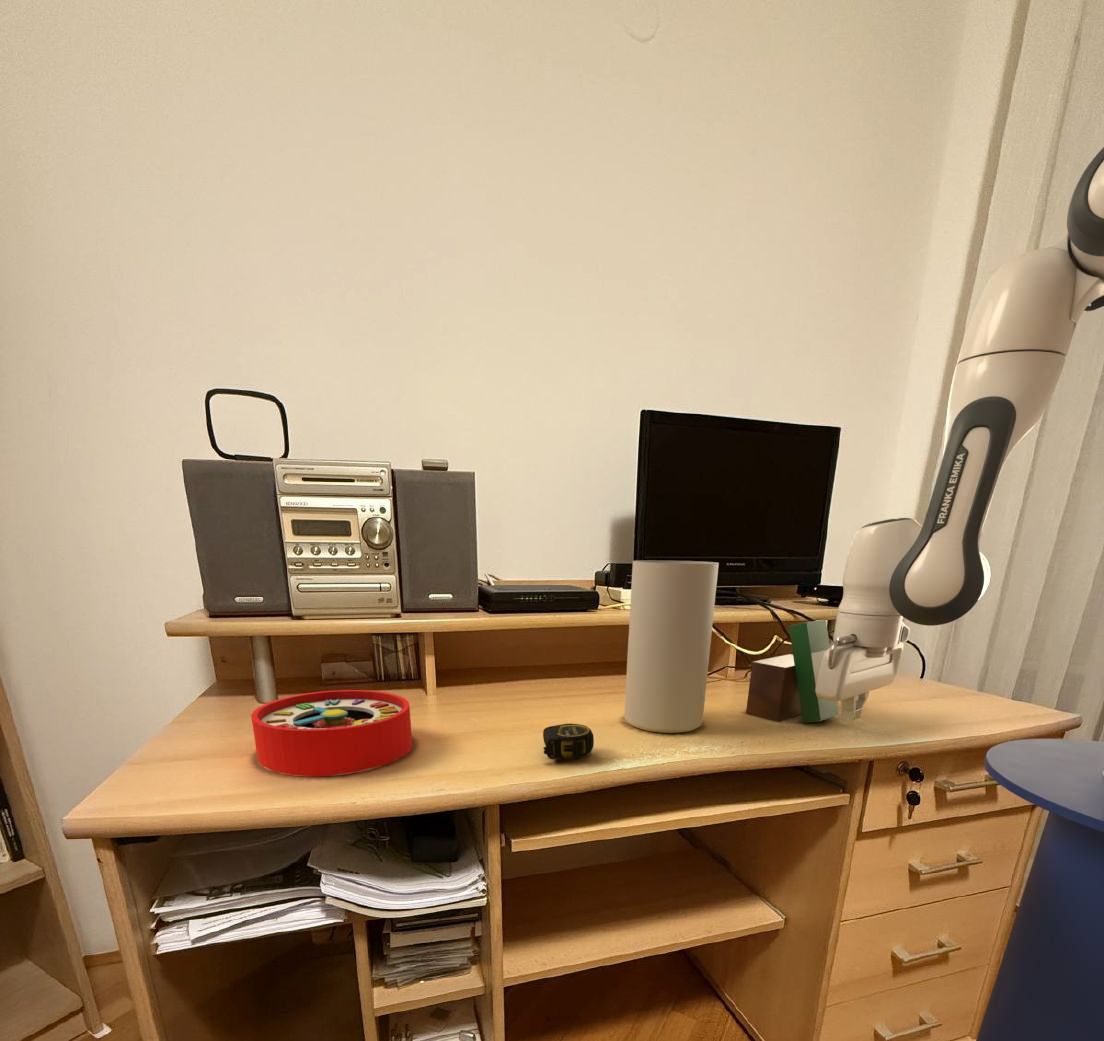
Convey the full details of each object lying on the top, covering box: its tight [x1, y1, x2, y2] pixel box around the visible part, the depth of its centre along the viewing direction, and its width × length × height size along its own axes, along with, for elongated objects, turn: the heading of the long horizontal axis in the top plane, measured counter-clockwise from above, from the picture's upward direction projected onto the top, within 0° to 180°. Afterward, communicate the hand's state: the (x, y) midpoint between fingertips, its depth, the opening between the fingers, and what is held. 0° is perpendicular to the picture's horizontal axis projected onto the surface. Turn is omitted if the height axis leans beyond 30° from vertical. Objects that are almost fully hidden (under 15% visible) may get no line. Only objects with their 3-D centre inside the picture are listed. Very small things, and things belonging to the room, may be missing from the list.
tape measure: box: [542, 723, 595, 760], centre depth 79 cm, size 7×7×4 cm
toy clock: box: [250, 689, 413, 778], centre depth 79 cm, size 20×6×20 cm
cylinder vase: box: [623, 559, 720, 734], centre depth 90 cm, size 12×12×25 cm
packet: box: [788, 618, 840, 723], centre depth 96 cm, size 13×6×13 cm, turn 39°
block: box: [745, 653, 802, 722], centre depth 100 cm, size 6×12×9 cm, turn 130°
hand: (850, 719), depth 93 cm, fingers closed
